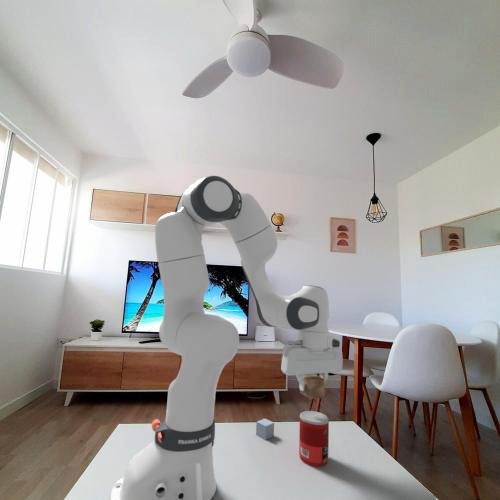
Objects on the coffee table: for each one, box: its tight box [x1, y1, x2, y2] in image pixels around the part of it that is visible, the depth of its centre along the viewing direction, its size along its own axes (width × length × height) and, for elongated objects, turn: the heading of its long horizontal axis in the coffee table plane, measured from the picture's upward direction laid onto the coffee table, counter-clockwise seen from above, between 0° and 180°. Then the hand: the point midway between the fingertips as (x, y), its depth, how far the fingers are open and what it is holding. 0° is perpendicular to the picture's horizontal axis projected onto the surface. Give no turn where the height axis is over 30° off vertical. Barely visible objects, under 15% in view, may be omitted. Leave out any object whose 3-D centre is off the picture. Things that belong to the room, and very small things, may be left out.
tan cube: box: [299, 374, 326, 400], centre depth 83 cm, size 5×5×5 cm
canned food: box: [298, 410, 330, 467], centre depth 79 cm, size 8×8×11 cm
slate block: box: [255, 418, 275, 441], centre depth 90 cm, size 4×4×4 cm
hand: (312, 389), depth 83 cm, fingers closed on tan cube, 5 cm apart
